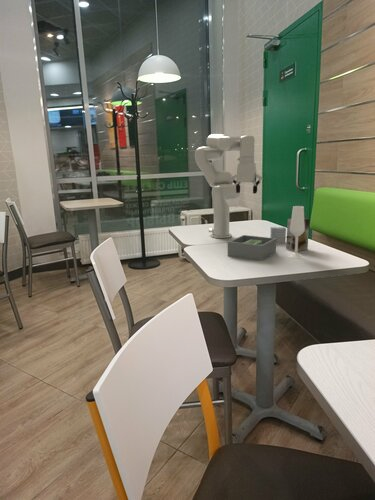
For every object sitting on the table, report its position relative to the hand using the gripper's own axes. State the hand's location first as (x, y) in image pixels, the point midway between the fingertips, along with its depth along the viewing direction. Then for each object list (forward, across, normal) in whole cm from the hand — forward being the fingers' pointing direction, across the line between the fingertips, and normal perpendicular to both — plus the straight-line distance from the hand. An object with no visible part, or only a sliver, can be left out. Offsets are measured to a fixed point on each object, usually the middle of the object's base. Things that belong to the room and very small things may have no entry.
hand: (246, 193), depth 190 cm
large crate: (+28, +12, -18) cm, 36 cm away
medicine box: (+29, +14, +12) cm, 34 cm away
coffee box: (+28, +28, +2) cm, 40 cm away
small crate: (+27, +12, -18) cm, 35 cm away
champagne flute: (+28, +32, -12) cm, 44 cm away
